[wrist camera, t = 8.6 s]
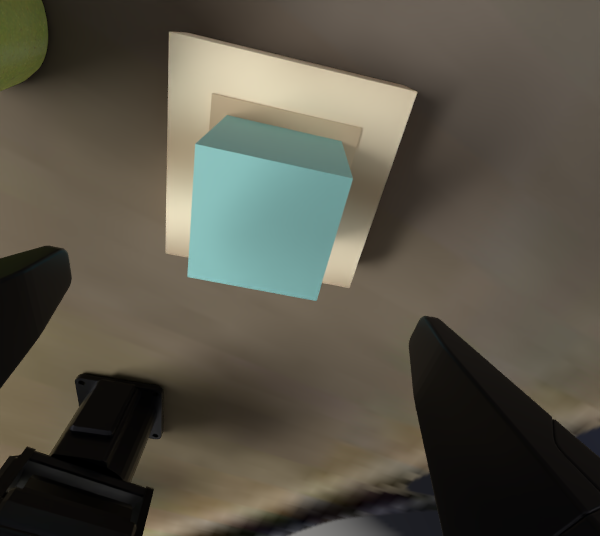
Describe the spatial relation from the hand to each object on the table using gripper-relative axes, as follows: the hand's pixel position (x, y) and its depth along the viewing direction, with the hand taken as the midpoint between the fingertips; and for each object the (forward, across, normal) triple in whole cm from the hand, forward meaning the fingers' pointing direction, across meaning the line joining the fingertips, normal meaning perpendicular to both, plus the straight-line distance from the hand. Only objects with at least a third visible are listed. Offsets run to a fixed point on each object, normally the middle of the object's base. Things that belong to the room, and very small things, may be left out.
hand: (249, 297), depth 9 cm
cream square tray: (+12, 0, 0) cm, 12 cm away
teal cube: (+9, 0, 0) cm, 9 cm away
